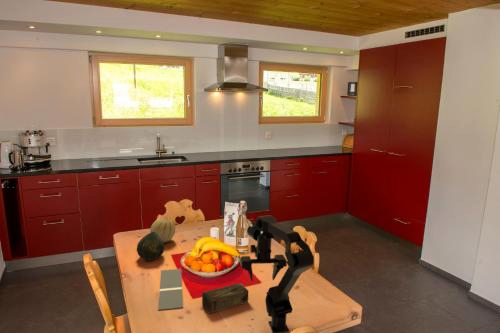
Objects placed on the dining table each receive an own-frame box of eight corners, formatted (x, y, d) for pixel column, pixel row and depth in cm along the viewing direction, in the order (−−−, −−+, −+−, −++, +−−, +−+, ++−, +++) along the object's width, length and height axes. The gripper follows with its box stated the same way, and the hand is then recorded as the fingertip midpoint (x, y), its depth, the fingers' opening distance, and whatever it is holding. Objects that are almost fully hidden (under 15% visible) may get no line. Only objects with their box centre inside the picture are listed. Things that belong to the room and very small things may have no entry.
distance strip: (182, 307, 143) (182, 306, 143) (158, 310, 141) (158, 309, 140) (181, 269, 175) (181, 268, 175) (161, 271, 173) (161, 270, 173)
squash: (130, 255, 177) (150, 233, 178) (132, 245, 192) (150, 224, 193) (152, 270, 182) (171, 248, 183) (152, 259, 196) (169, 239, 197)
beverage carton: (249, 303, 148) (249, 289, 147) (208, 315, 139) (208, 300, 137) (240, 294, 155) (240, 280, 154) (200, 305, 145) (200, 291, 144)
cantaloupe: (145, 244, 205) (145, 220, 202) (159, 235, 219) (158, 213, 216) (167, 248, 201) (167, 223, 198) (179, 238, 214) (179, 216, 212)
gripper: (281, 236, 148) (279, 269, 151) (238, 238, 145) (237, 271, 148) (288, 247, 137) (285, 282, 141) (242, 249, 134) (241, 285, 137)
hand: (262, 280), depth 142 cm, fingers open, 9 cm apart
